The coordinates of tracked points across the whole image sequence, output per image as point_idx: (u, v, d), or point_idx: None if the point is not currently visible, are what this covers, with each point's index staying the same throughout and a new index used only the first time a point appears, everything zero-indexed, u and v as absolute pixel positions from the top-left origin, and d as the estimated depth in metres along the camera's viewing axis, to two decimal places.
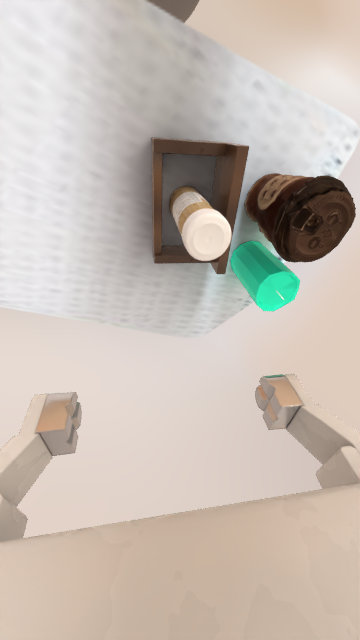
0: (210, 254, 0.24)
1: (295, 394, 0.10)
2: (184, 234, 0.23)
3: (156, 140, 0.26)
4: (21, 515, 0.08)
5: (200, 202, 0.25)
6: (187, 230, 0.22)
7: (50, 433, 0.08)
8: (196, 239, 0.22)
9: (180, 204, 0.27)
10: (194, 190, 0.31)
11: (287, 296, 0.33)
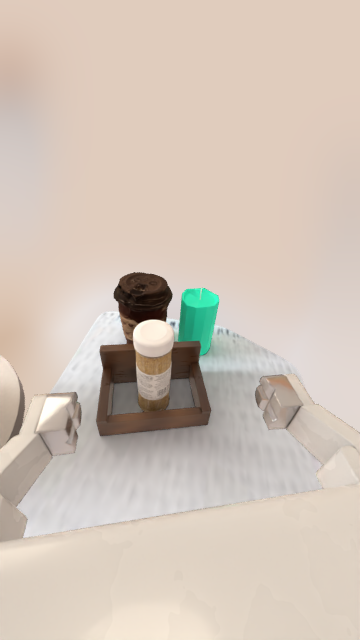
0: (166, 327, 0.28)
1: (295, 394, 0.10)
2: (152, 348, 0.26)
3: (97, 419, 0.29)
4: (21, 515, 0.08)
5: (136, 361, 0.30)
6: (147, 346, 0.25)
7: (50, 433, 0.08)
8: (153, 338, 0.26)
9: (143, 382, 0.30)
10: None
11: (203, 292, 0.40)
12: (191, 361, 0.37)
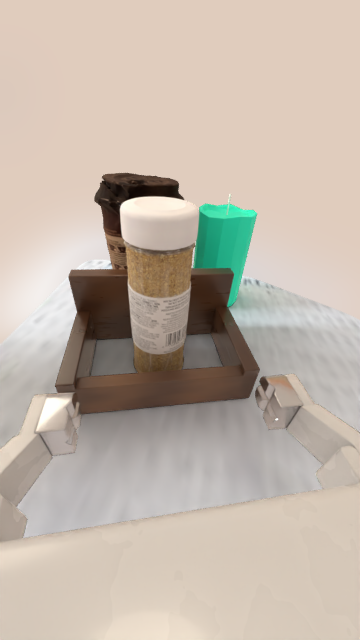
0: (184, 202, 0.14)
1: (295, 394, 0.10)
2: (158, 225, 0.12)
3: (57, 381, 0.16)
4: (21, 515, 0.08)
5: (128, 278, 0.17)
6: (148, 218, 0.12)
7: (50, 433, 0.08)
8: (161, 209, 0.13)
9: (141, 317, 0.17)
10: None
11: (229, 210, 0.27)
12: (216, 303, 0.23)
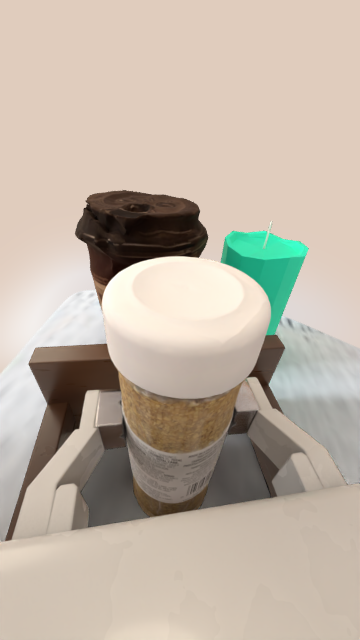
0: (235, 277, 0.07)
1: (254, 398, 0.10)
2: (191, 362, 0.05)
3: None
4: (86, 505, 0.08)
5: None
6: (166, 349, 0.05)
7: (108, 427, 0.09)
8: (195, 313, 0.06)
9: (145, 466, 0.09)
10: None
11: (265, 239, 0.20)
12: None
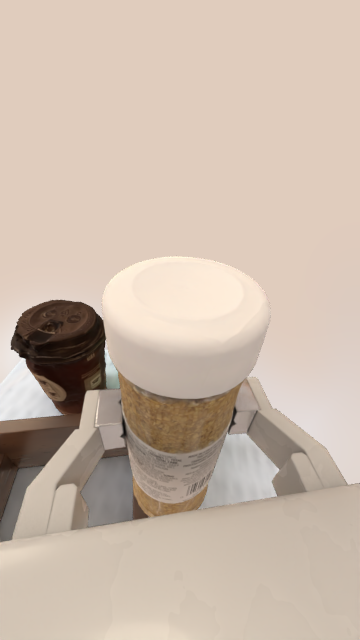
0: (235, 277, 0.07)
1: (254, 398, 0.10)
2: (190, 363, 0.05)
3: None
4: (86, 505, 0.08)
5: None
6: (166, 349, 0.05)
7: (108, 427, 0.09)
8: (194, 313, 0.06)
9: (145, 466, 0.09)
10: None
11: None
12: None
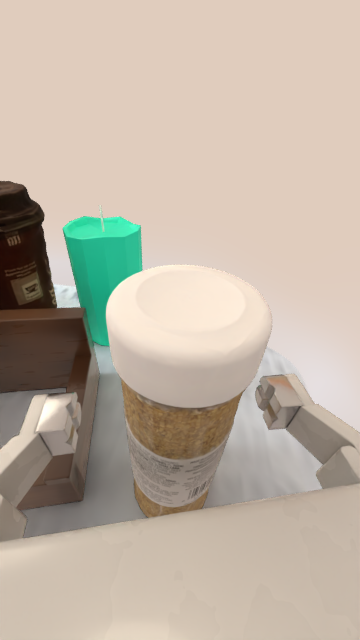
0: (237, 286, 0.07)
1: (295, 394, 0.10)
2: (194, 374, 0.05)
3: None
4: (21, 515, 0.08)
5: None
6: (170, 361, 0.05)
7: (50, 433, 0.08)
8: (198, 324, 0.06)
9: (147, 471, 0.09)
10: None
11: (116, 224, 0.21)
12: (73, 352, 0.17)
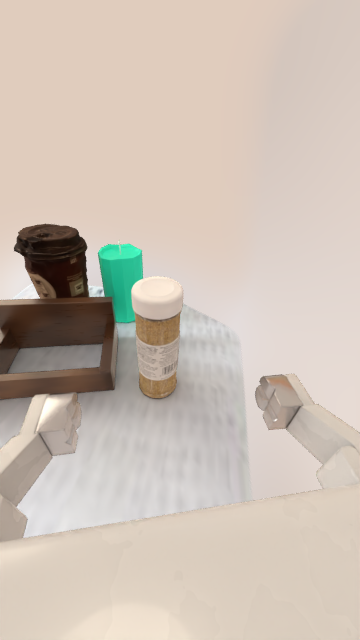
0: (173, 284, 0.22)
1: (295, 394, 0.10)
2: (156, 307, 0.20)
3: None
4: (21, 515, 0.08)
5: None
6: (149, 303, 0.20)
7: (50, 433, 0.08)
8: (158, 294, 0.20)
9: (145, 357, 0.24)
10: None
11: (127, 248, 0.36)
12: (105, 321, 0.32)
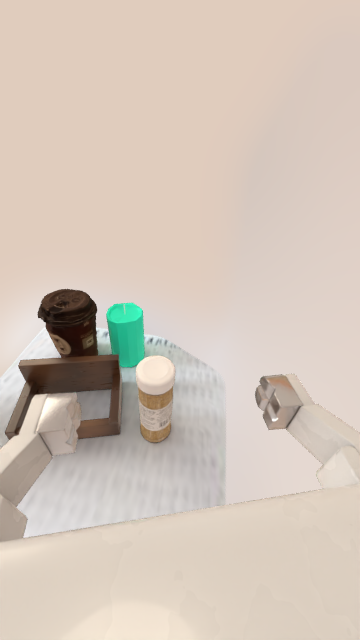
0: (168, 364, 0.28)
1: (295, 394, 0.10)
2: (154, 387, 0.26)
3: (6, 430, 0.31)
4: (21, 515, 0.08)
5: (138, 394, 0.31)
6: (149, 385, 0.26)
7: (50, 433, 0.08)
8: (156, 377, 0.27)
9: (145, 415, 0.31)
10: None
11: (130, 307, 0.43)
12: (112, 373, 0.39)
